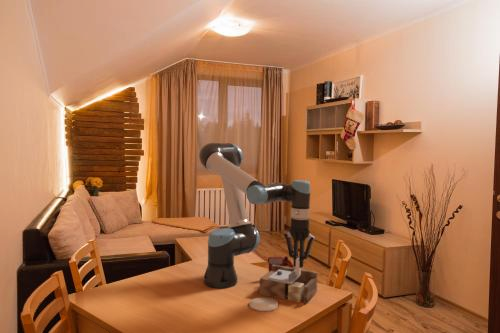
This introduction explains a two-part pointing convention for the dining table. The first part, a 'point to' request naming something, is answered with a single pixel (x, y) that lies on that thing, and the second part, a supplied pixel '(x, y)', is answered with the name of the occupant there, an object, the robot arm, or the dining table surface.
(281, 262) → the toy fire truck
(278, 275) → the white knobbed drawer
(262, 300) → the dish
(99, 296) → the dining table surface
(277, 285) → the wooden frame
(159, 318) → the dining table surface
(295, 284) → the block
